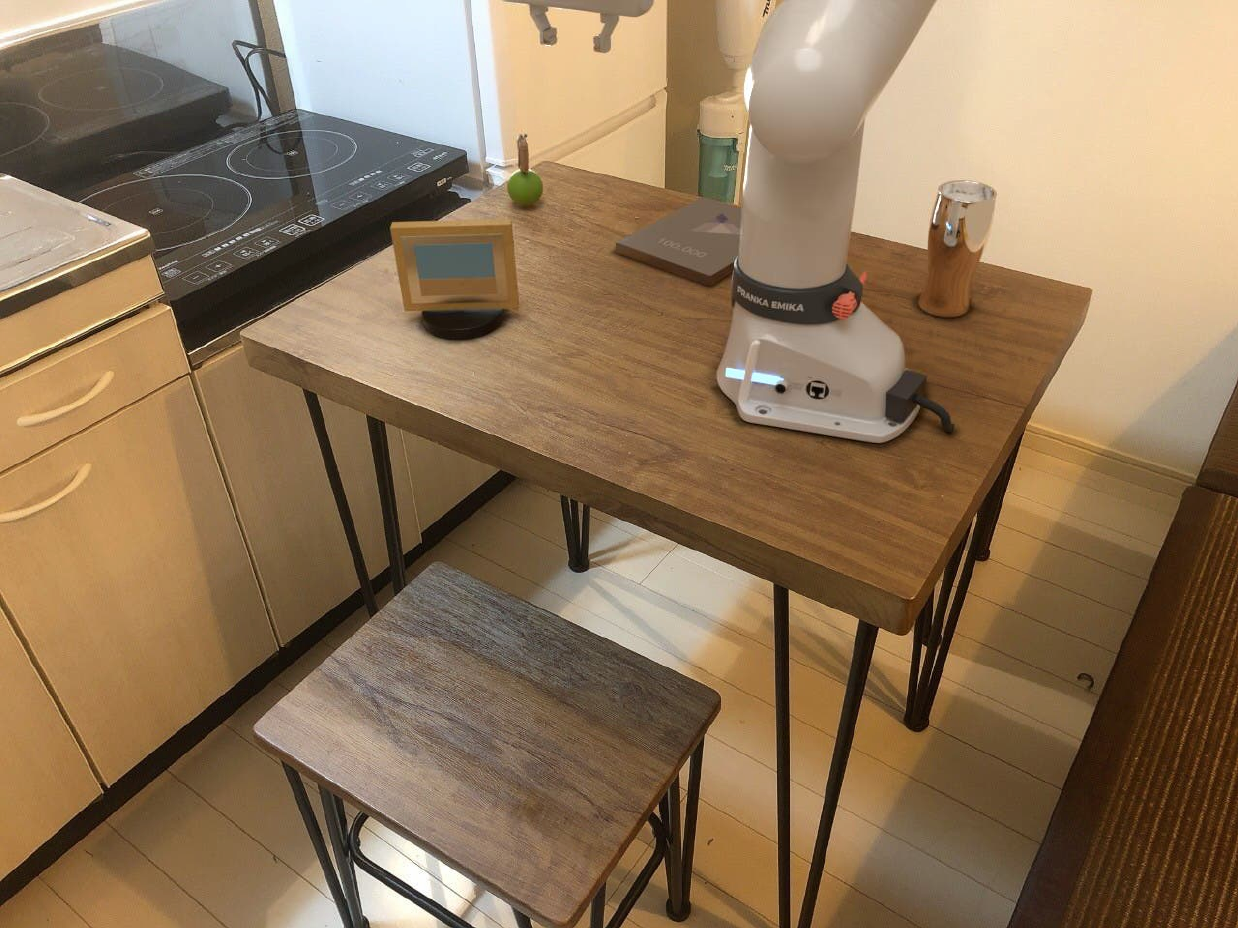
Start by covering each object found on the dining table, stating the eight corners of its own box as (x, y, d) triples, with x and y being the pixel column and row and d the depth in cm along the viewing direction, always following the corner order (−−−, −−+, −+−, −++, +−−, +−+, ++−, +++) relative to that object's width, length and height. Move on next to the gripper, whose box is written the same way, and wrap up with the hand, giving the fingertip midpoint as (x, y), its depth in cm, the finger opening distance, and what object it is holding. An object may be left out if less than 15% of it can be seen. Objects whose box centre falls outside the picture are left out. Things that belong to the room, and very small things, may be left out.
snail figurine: (511, 216, 145) (504, 136, 138) (506, 199, 150) (499, 121, 143) (547, 212, 146) (542, 133, 138) (541, 195, 151) (536, 118, 143)
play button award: (615, 242, 134) (702, 197, 146) (616, 252, 135) (702, 206, 146) (710, 276, 125) (794, 225, 137) (709, 286, 126) (793, 235, 138)
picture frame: (519, 302, 120) (511, 218, 114) (518, 309, 119) (510, 225, 112) (406, 305, 120) (392, 222, 113) (404, 312, 119) (389, 228, 112)
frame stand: (519, 310, 122) (518, 300, 121) (473, 347, 115) (472, 336, 114) (455, 293, 126) (453, 283, 125) (407, 328, 119) (405, 317, 118)
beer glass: (981, 303, 121) (1008, 188, 112) (957, 325, 117) (983, 208, 108) (929, 287, 125) (952, 174, 116) (904, 308, 121) (925, 193, 112)
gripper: (664, -79, 108) (662, 51, 116) (511, -90, 116) (520, 32, 124) (637, -70, 103) (638, 65, 112) (480, -82, 111) (492, 45, 120)
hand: (575, 48), depth 118 cm, fingers open, 6 cm apart
